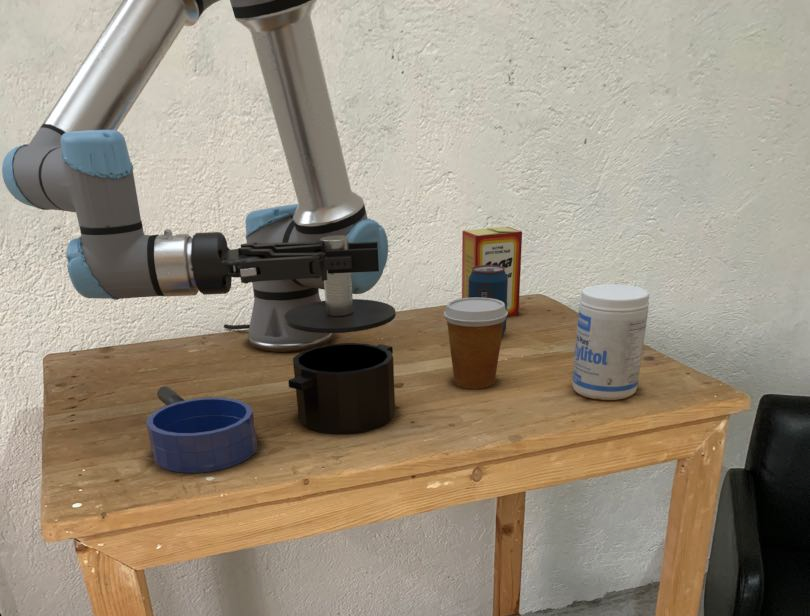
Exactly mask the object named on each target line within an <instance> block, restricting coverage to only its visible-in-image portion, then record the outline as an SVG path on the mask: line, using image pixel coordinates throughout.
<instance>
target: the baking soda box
mask: <svg viewBox="0 0 810 616" xmlns="http://www.w3.org/2000/svg"><path fill="white" fill-rule="evenodd" d="M461 232H462V233H461V237H462V238H461V239H462V241H461V243H462V245H461V263H462V264H461V299H462V298H468V286H469V277H470V275H471V273H472V268H473V267H475V266H480V265H498V266H502V267H504V268H505V270H504V271H505V273H506V275H507V278H508V287H507V312H508V314H507V317H514V316H515V317H516V316H519V315H520V314H519V313H520V294H521V293H520V291H521V270H522V269H521V268H522V248H523V247H522V246H523V231H521V230H518V229H516V228H512V227H509V226H497V227H495V226H494V227H486V228H476V229H467V230H466V229H465V230H462V231H461Z"/></svg>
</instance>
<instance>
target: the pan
mask: <svg viewBox="0 0 810 616" xmlns="http://www.w3.org/2000/svg"><path fill="white" fill-rule="evenodd" d="M184 400H185V401H180V402H176V403H173V404H170V405H167V406H166V405H164V406H162V407H160V408H158V409H157V410H155V411H153V412H152V413H151V414H150V415H149V416H148V417H147V418H146V428H147V429H146V430H147V433H148V439H149V444H150V448H151V453H152V458H153V459H154V462H155V463H156V465H157V466H158V467H160V468H162V469H164V470H167V471H170V472H176V473H184V474H198V473H209V472H210V473H211V472H217V471H220V470H225V469H228V468H232V467H234V466H237V465H240V464H241V463H244V462H245V461H247V460H249V459H250V458H251V457H252V456H253V455H254V454H255V453H256V452H257V449H258V439H257V431H256V425H255V417H254V411H253V408H252V406H251V405H250V404H248V403H247V402H246V401H243V400H240V399H236V398H231V397H230V398H229V397H222V396H221V397H217V396H214V397H213V396H212V397H211V396H210V397H206V396H205V397H197V398H190V399H184Z"/></svg>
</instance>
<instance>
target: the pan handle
mask: <svg viewBox="0 0 810 616" xmlns="http://www.w3.org/2000/svg"><path fill="white" fill-rule="evenodd" d="M157 397H158V399H159V401H160V402H162V403H163V404H164V406H167V405H170V404H173V403H176V402H180V401H185V400H186V399H184V398H183V397H182V396H181V395H179V393H176V391H175V390H173V388H172V387H169V386H167V385H164V386H161V387H159V388H158V390H157Z"/></svg>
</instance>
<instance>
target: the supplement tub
mask: <svg viewBox="0 0 810 616" xmlns="http://www.w3.org/2000/svg"><path fill="white" fill-rule="evenodd" d="M579 301H580V302H579V308H578V317H577V328H576V337H575V347H574V348H575V349H574V356H573V358H574V359H573V368H572V380H571V385H572V388H573V389H572V390H574V391H575V392H576V393H577V394H578V395H580V396H582V397H585V398H588V399H592V400H602V401H619V400H623V399H627V398H629V397H631V396H633V395H634V394H635V393H636V392H637V390H638V384H639V377H640V371H641V363H642V356H643V349H644V342H645V335H646V329H647V323H648V322H647V321H648V315H649V314H648V313H649V305H650V292H649V290H647V289H645V288H643V287H640V286H636V285H630V284H621V283H602V284H601V283H600V284H594V285H590V286H586V287H585V288H583V289H582V291H581V298H580V300H579Z"/></svg>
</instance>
